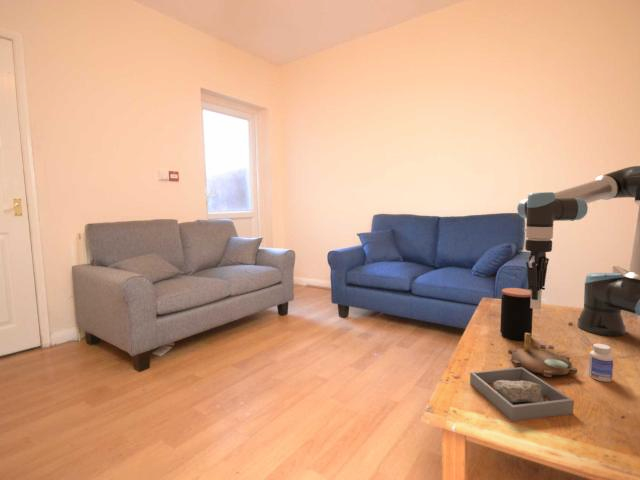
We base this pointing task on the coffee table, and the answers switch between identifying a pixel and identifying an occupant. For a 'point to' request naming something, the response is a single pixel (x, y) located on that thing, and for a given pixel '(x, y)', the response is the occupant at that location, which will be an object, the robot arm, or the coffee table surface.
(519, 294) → the coffee jar
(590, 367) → the pill bottle
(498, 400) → the stone tray
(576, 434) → the coffee table surface
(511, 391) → the decorative stone
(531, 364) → the turntable
